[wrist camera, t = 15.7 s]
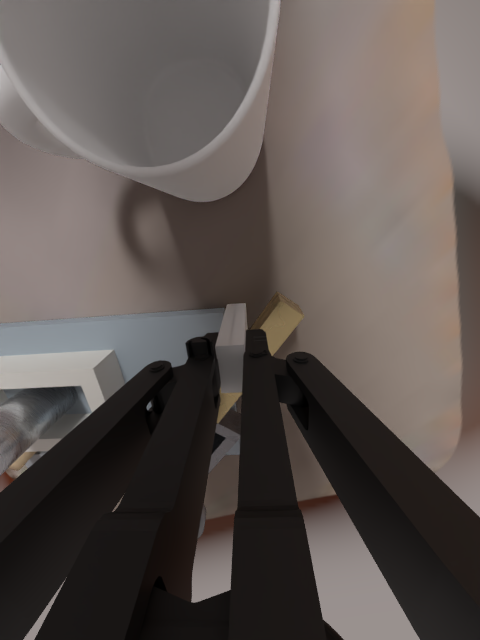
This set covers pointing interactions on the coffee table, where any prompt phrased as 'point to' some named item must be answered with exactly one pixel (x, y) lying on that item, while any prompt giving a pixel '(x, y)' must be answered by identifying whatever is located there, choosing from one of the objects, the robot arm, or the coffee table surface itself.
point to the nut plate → (94, 361)
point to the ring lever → (278, 326)
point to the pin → (30, 418)
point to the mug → (142, 86)
